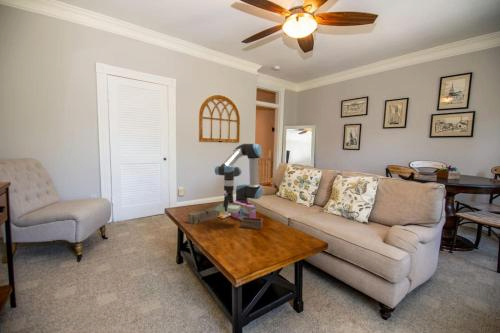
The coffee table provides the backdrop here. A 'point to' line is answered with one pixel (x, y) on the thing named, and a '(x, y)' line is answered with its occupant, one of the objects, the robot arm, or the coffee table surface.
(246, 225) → the crate
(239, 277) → the coffee table surface
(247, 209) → the gum box
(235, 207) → the lid
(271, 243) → the coffee table surface
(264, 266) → the coffee table surface
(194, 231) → the coffee table surface
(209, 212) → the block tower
